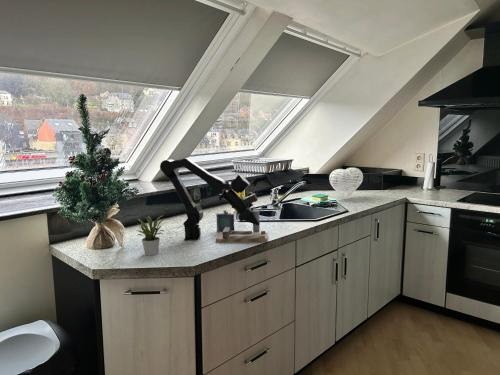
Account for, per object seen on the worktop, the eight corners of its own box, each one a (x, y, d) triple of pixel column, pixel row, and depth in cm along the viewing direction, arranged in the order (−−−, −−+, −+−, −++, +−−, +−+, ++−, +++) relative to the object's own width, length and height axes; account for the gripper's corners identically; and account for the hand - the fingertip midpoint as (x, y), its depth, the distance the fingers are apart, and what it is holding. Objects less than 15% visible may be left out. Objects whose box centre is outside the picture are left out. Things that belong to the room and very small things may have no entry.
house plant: (175, 247, 166) (173, 210, 164) (169, 257, 152) (167, 217, 150) (141, 248, 166) (139, 211, 163) (132, 258, 152) (130, 218, 150)
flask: (216, 231, 192) (215, 210, 191) (218, 230, 195) (217, 209, 193) (233, 232, 189) (232, 211, 188) (235, 231, 192) (235, 210, 190)
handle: (251, 237, 174) (251, 212, 172) (252, 233, 180) (252, 209, 179) (260, 237, 173) (260, 212, 172) (261, 233, 180) (260, 209, 178)
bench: (215, 242, 173) (215, 232, 172) (219, 235, 184) (219, 226, 183) (267, 242, 171) (267, 232, 171) (267, 235, 182) (267, 226, 182)
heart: (348, 195, 289) (349, 166, 286) (366, 198, 277) (367, 167, 274) (324, 200, 271) (324, 169, 268) (342, 203, 259) (343, 170, 256)
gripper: (245, 190, 165) (271, 215, 166) (248, 184, 183) (271, 207, 184) (227, 209, 166) (253, 233, 167) (232, 201, 185) (255, 223, 186)
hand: (259, 223), depth 176 cm, fingers closed on handle, 3 cm apart
